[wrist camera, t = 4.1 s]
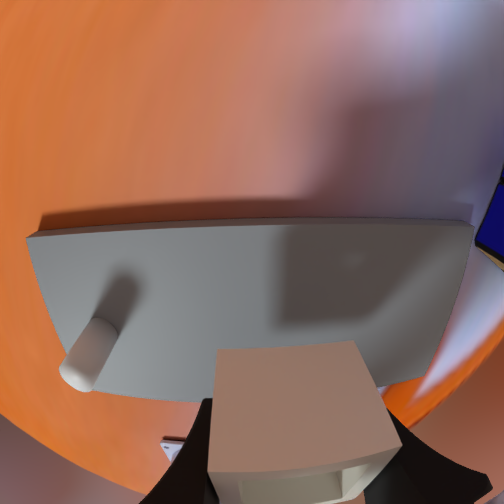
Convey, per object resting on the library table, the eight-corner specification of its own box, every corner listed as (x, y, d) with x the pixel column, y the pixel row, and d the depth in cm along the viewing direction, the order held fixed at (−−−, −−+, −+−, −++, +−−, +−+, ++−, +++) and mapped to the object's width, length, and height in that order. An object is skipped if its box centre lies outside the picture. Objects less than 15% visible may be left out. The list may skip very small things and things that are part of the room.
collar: (331, 415, 12) (354, 498, 7) (227, 423, 12) (225, 513, 7) (353, 340, 10) (402, 445, 5) (217, 348, 10) (207, 471, 5)
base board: (417, 366, 18) (445, 411, 13) (90, 378, 17) (66, 427, 13) (462, 220, 14) (519, 252, 9) (37, 231, 13) (-19, 267, 8)
